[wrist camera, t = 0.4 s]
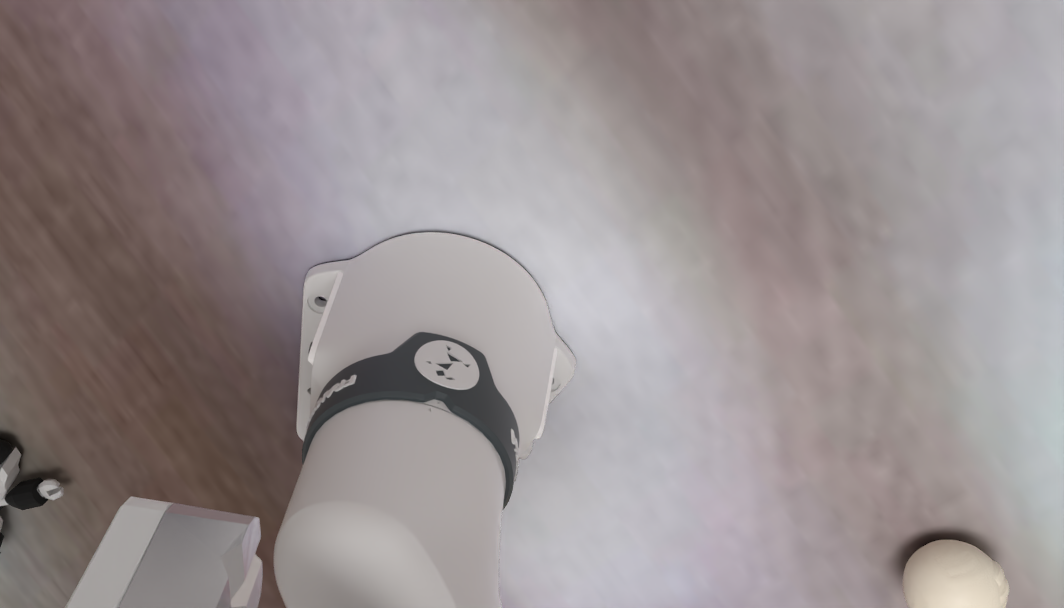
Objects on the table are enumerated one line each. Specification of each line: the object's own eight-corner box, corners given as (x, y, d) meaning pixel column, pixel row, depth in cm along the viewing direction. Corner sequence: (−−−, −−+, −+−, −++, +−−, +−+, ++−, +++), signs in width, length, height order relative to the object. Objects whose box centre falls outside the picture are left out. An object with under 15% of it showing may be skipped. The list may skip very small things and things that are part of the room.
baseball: (988, 579, 78) (1016, 654, 72) (891, 582, 79) (910, 656, 73) (1000, 519, 74) (1030, 594, 68) (897, 523, 75) (918, 597, 69)
